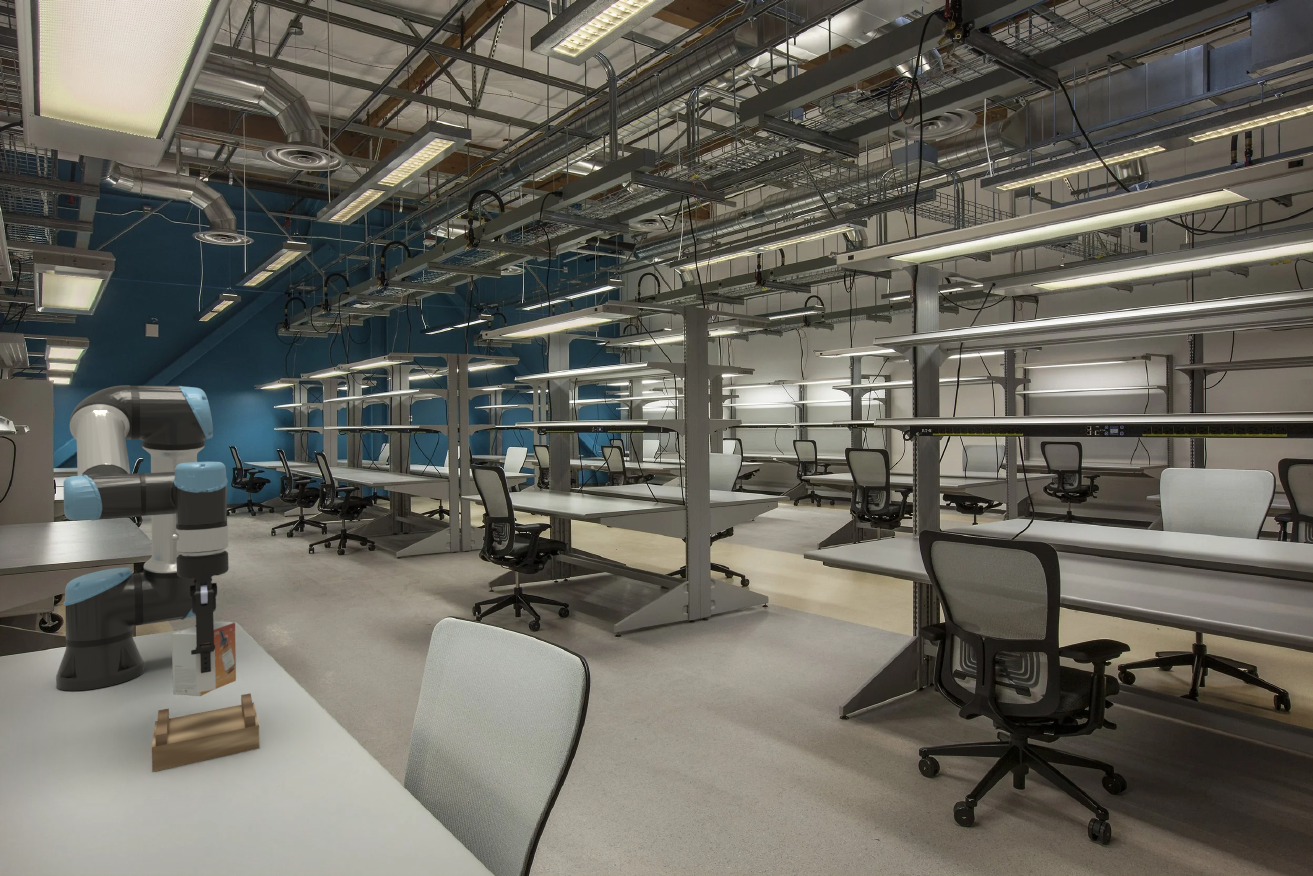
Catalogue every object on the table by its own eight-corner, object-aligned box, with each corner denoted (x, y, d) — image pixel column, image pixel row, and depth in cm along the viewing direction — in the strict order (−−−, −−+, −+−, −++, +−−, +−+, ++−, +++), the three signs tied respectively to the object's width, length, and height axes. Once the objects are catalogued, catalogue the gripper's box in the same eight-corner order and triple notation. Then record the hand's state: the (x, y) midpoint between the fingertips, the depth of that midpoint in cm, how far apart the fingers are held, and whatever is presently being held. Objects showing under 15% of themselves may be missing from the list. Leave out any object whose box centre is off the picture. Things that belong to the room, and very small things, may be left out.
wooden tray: (155, 744, 125) (154, 711, 125) (254, 723, 133) (253, 692, 133) (152, 772, 115) (151, 736, 115) (259, 748, 123) (258, 714, 123)
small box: (200, 697, 119) (198, 634, 119) (171, 695, 120) (170, 633, 120) (237, 680, 127) (236, 621, 127) (210, 678, 128) (209, 620, 128)
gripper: (177, 545, 130) (180, 667, 131) (175, 564, 112) (178, 707, 112) (225, 541, 134) (228, 659, 135) (230, 559, 116) (234, 696, 116)
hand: (205, 681), depth 123 cm, fingers closed on small box, 9 cm apart
